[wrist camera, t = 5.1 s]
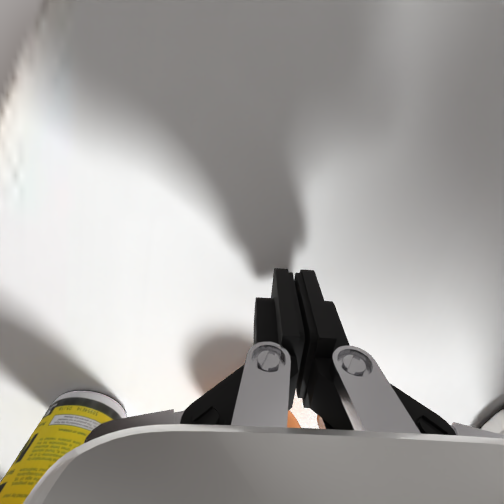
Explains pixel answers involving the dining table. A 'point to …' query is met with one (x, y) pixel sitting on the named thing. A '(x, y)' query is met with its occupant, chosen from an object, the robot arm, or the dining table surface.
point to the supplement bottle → (56, 439)
